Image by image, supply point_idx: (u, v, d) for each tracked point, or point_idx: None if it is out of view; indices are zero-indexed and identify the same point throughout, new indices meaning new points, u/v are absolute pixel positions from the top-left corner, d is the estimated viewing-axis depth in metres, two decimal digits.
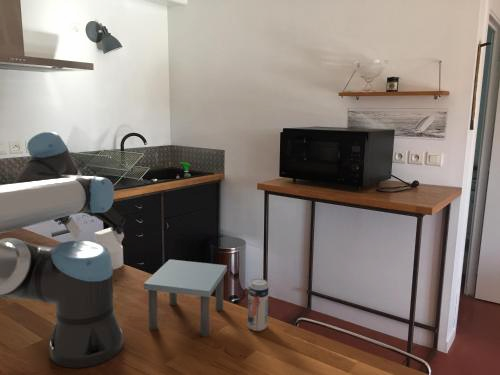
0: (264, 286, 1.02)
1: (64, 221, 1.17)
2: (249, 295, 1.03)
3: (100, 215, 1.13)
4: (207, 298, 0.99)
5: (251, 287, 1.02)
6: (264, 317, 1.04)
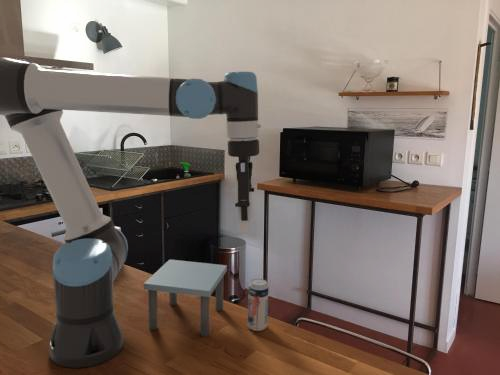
0: (264, 286, 1.02)
1: None
2: (249, 295, 1.03)
3: None
4: (207, 298, 0.99)
5: (251, 287, 1.02)
6: (264, 317, 1.04)
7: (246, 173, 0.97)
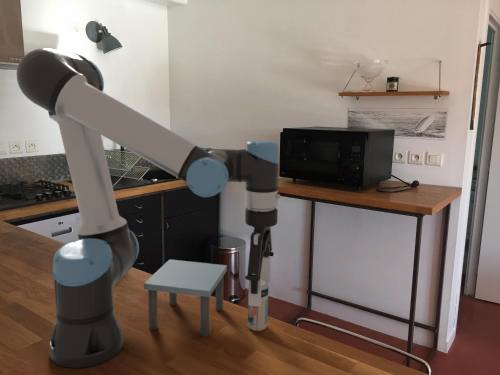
0: (264, 286, 1.02)
1: None
2: None
3: None
4: (207, 298, 0.99)
5: None
6: (264, 317, 1.04)
7: (259, 246, 0.94)
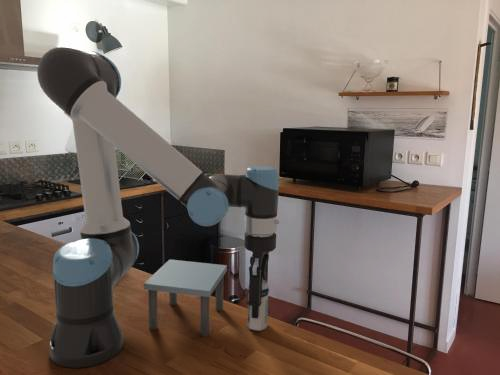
0: (264, 286, 1.02)
1: None
2: None
3: None
4: (207, 298, 0.99)
5: None
6: (264, 317, 1.04)
7: (258, 277, 0.97)
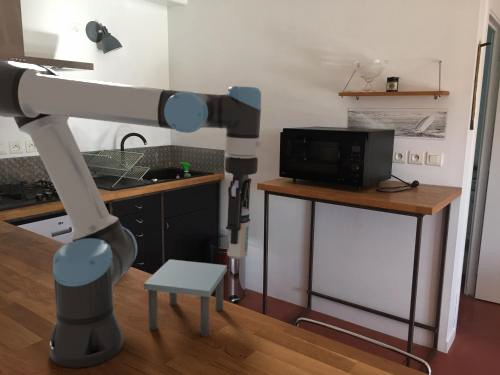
0: (244, 212, 0.99)
1: None
2: None
3: None
4: (207, 298, 0.99)
5: None
6: (244, 245, 1.01)
7: (237, 198, 0.94)
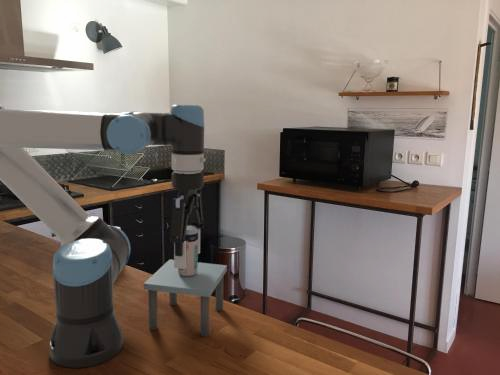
0: (193, 231, 1.03)
1: None
2: None
3: None
4: (207, 298, 0.99)
5: None
6: (193, 262, 1.05)
7: (181, 210, 0.97)
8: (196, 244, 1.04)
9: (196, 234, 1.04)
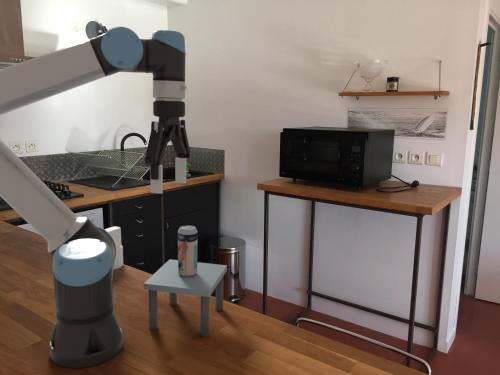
0: (192, 231, 1.03)
1: None
2: (178, 241, 1.04)
3: None
4: (207, 298, 0.99)
5: (179, 232, 1.03)
6: (193, 262, 1.05)
7: (158, 132, 0.96)
8: (196, 244, 1.04)
9: (195, 234, 1.04)
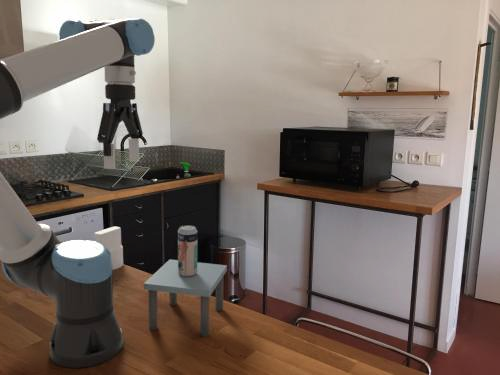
0: (192, 231, 1.03)
1: None
2: (178, 241, 1.04)
3: None
4: (207, 298, 0.99)
5: (179, 232, 1.03)
6: (193, 262, 1.05)
7: (110, 112, 1.06)
8: (196, 244, 1.04)
9: (195, 234, 1.04)
